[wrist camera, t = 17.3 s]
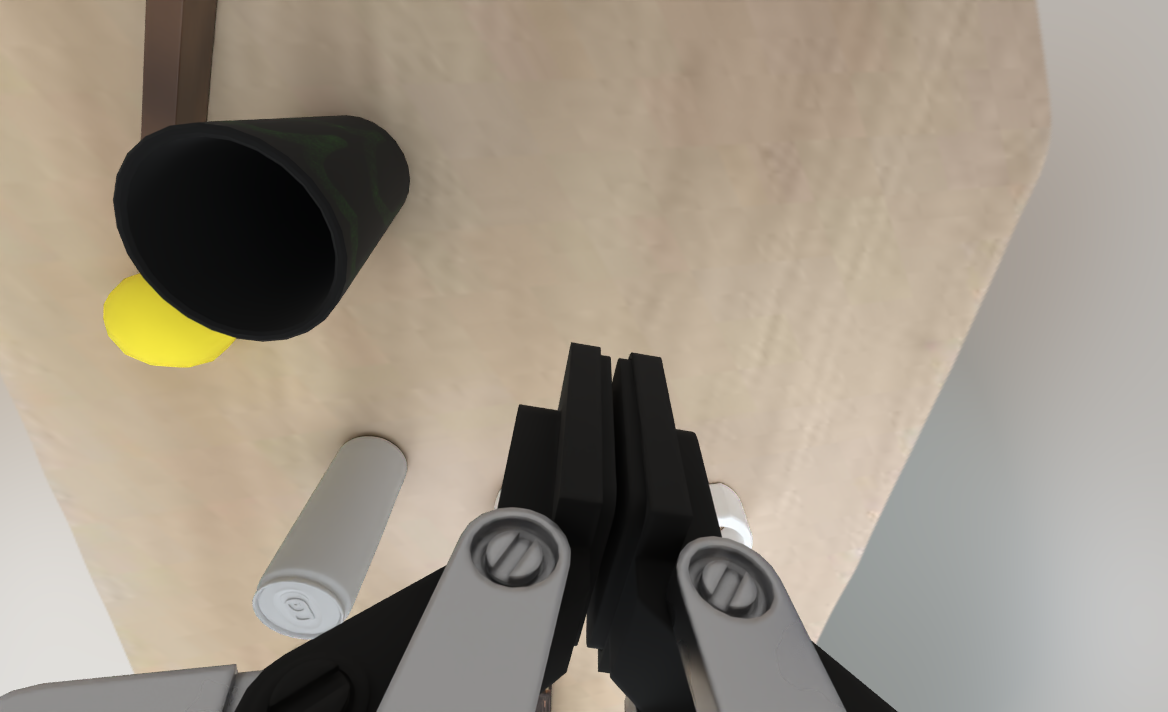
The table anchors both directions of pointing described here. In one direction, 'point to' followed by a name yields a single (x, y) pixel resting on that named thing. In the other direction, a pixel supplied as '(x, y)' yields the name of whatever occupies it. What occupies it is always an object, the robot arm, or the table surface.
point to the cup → (258, 217)
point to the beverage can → (332, 541)
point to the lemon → (158, 328)
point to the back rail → (176, 62)
